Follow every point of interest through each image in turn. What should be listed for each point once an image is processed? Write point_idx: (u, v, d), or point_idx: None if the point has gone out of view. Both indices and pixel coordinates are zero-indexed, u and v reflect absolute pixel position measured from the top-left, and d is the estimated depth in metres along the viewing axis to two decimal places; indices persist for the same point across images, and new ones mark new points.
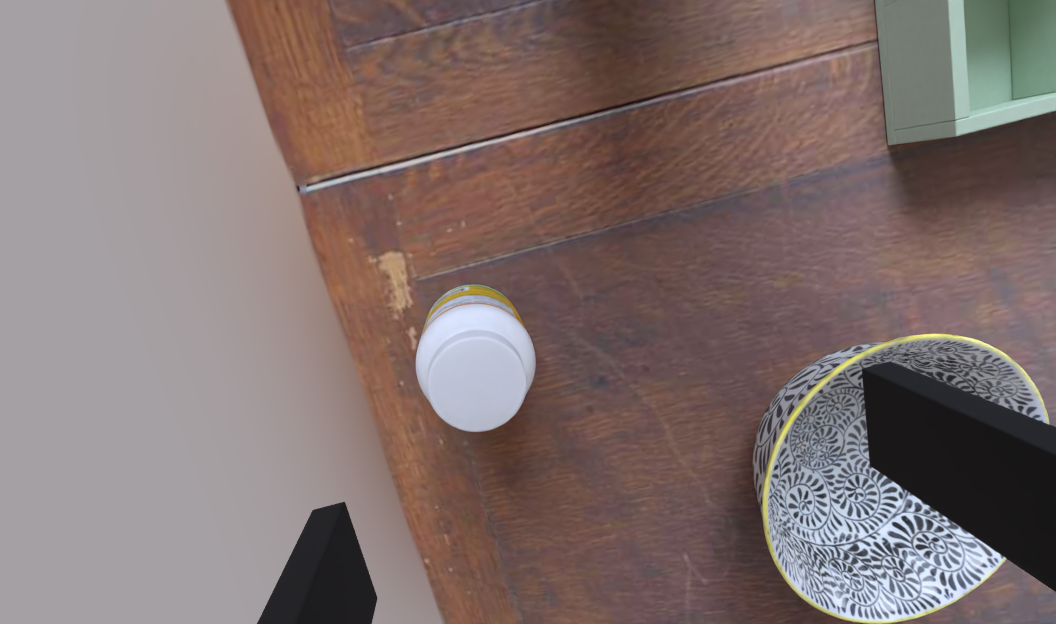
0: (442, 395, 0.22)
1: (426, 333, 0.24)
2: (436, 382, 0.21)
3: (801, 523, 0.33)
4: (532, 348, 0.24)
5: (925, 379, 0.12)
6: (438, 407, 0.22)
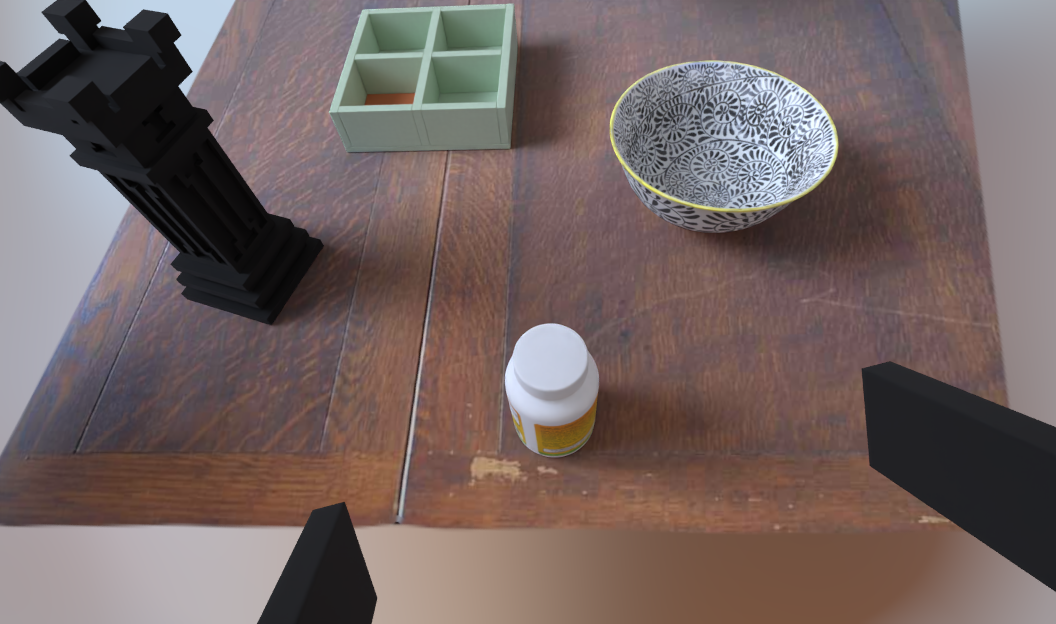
0: (549, 380, 0.28)
1: (515, 405, 0.30)
2: (538, 382, 0.28)
3: None
4: None
5: (925, 379, 0.12)
6: (558, 385, 0.28)
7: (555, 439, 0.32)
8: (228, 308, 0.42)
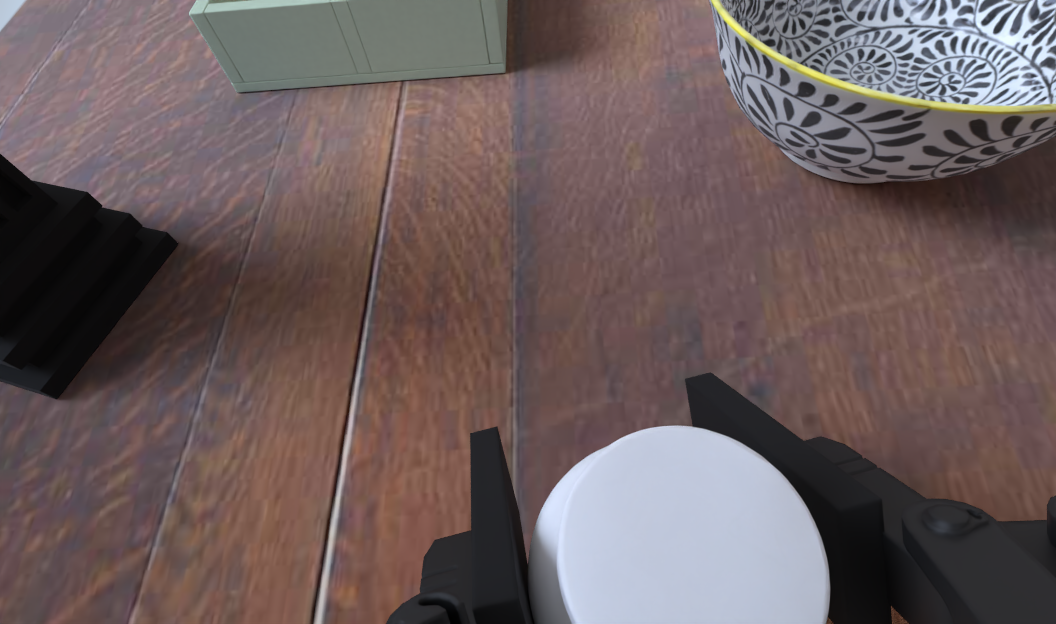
0: None
1: None
2: None
3: None
4: None
5: (726, 389, 0.14)
6: None
7: None
8: None
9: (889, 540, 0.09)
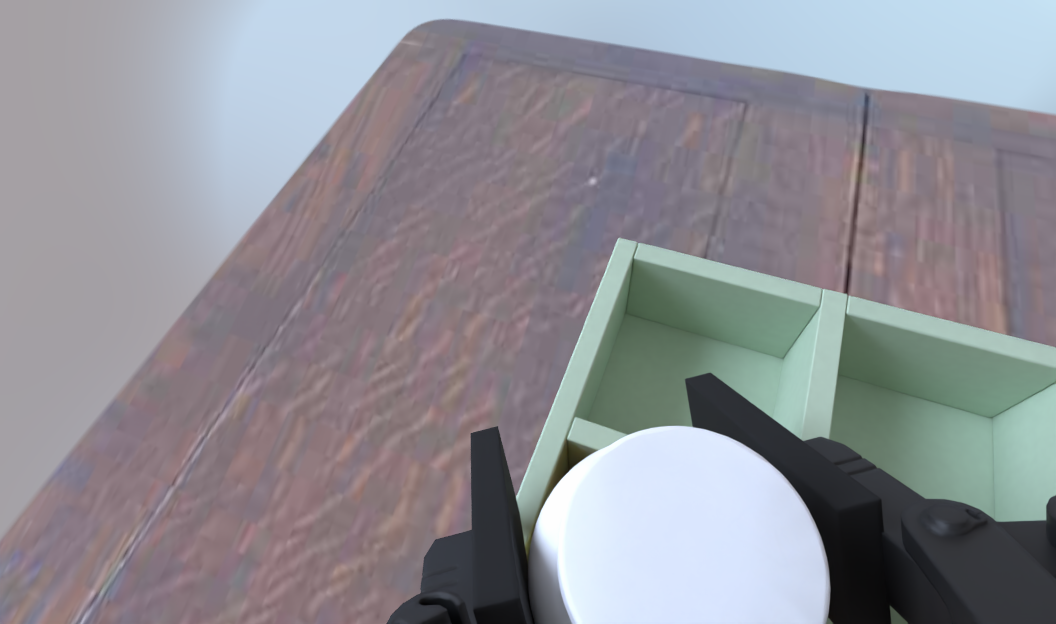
0: None
1: None
2: None
3: None
4: None
5: (725, 389, 0.14)
6: None
7: None
8: None
9: (889, 541, 0.09)
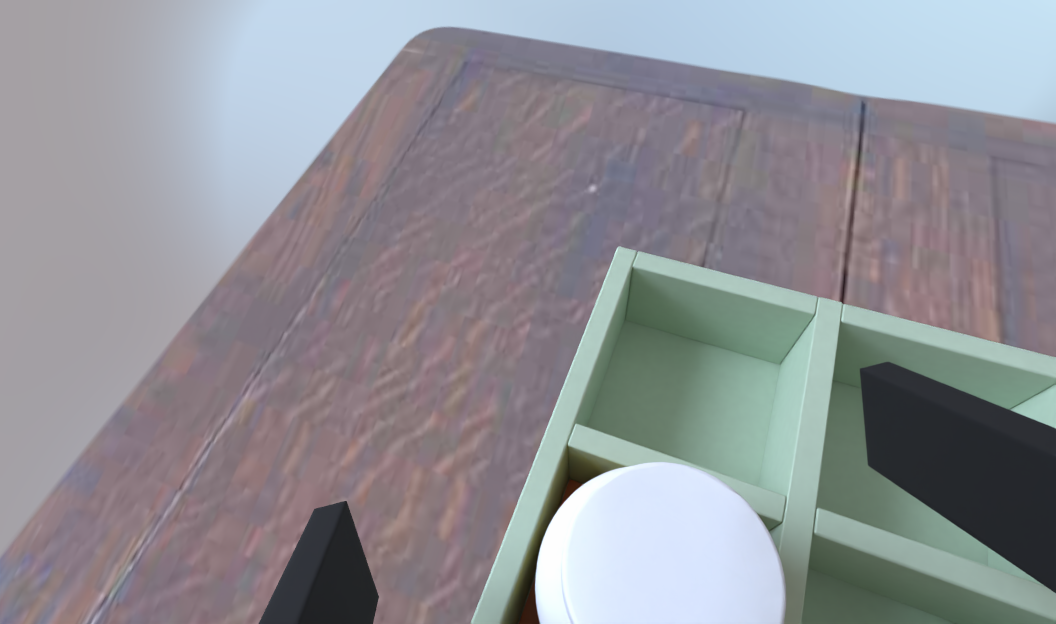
0: None
1: None
2: None
3: None
4: None
5: (923, 379, 0.12)
6: None
7: None
8: None
9: None
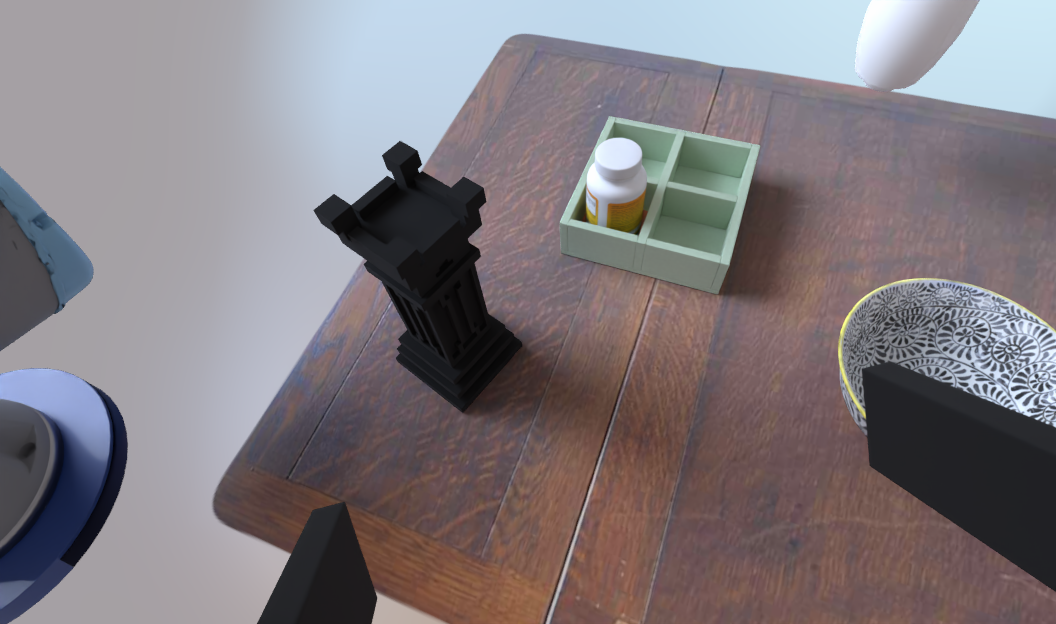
0: (620, 164, 0.46)
1: (595, 192, 0.48)
2: (613, 166, 0.46)
3: None
4: None
5: (925, 379, 0.12)
6: (625, 166, 0.45)
7: (619, 221, 0.50)
8: (431, 385, 0.47)
9: None
